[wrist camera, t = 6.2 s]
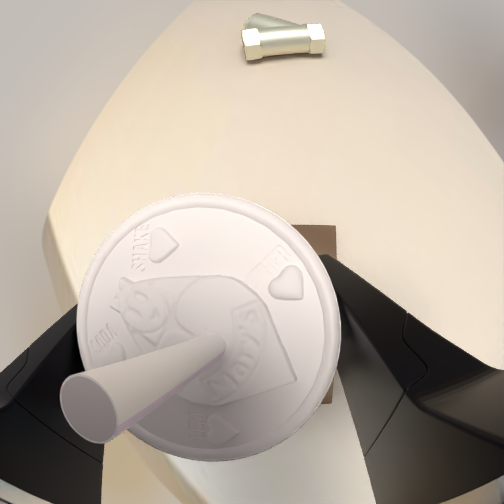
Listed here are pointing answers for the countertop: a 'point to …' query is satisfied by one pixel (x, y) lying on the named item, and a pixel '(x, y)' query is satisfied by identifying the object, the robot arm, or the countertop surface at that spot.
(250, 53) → the pipe fitting
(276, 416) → the smoothie
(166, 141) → the countertop surface
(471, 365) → the robot arm
